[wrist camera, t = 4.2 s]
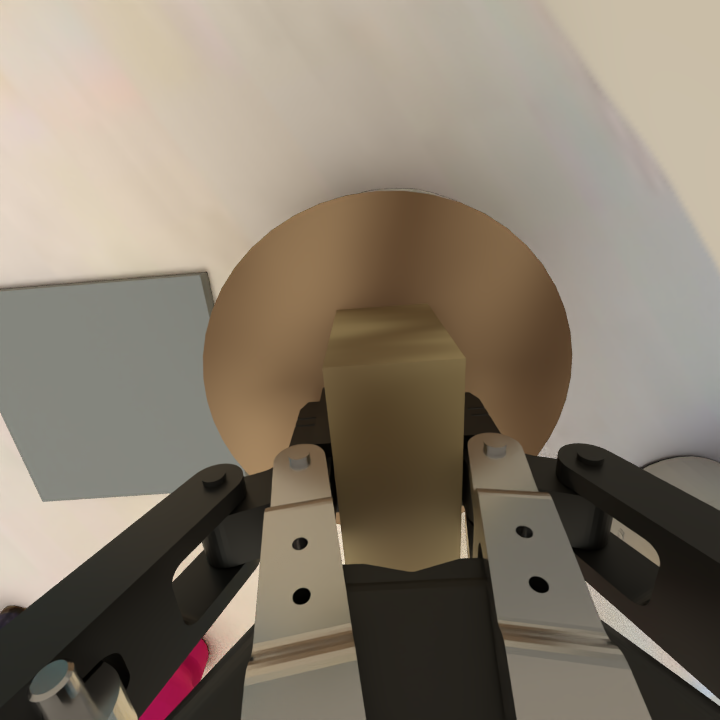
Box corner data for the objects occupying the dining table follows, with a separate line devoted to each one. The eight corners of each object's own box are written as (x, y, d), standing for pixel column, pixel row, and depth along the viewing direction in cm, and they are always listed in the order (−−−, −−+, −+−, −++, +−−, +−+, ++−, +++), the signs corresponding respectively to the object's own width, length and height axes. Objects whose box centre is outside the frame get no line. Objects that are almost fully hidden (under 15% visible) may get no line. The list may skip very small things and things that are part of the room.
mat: (206, 272, 22) (199, 275, 21) (252, 478, 27) (248, 488, 26) (-38, 292, 22) (-55, 295, 21) (53, 491, 27) (42, 501, 26)
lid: (580, 175, 12) (764, 148, 7) (540, 503, 17) (628, 648, 11) (175, 208, 13) (26, 208, 7) (246, 519, 17) (192, 667, 12)
